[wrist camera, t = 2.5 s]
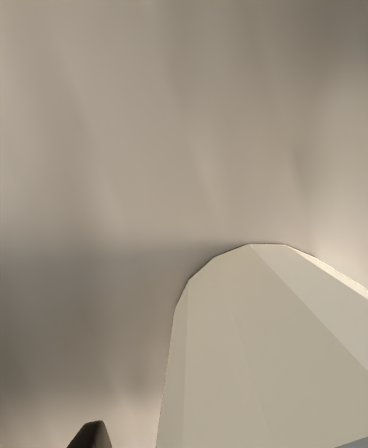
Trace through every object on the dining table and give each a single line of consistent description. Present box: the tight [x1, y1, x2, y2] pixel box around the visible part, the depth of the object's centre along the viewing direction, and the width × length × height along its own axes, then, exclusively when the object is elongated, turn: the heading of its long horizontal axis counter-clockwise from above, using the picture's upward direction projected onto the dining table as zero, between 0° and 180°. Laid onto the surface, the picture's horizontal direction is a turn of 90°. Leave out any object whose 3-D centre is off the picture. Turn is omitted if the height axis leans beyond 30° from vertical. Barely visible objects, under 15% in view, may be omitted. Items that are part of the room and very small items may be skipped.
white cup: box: [155, 244, 368, 448], centre depth 7 cm, size 7×7×7 cm
